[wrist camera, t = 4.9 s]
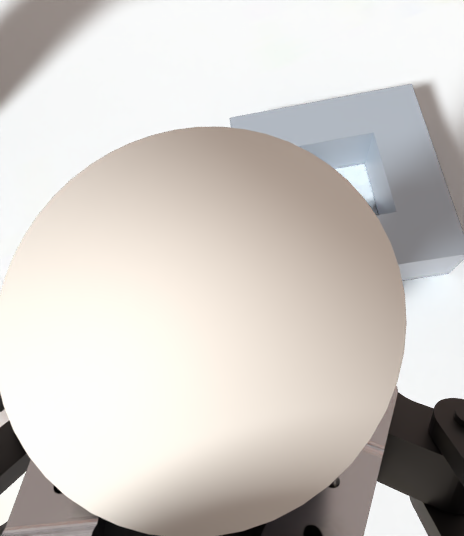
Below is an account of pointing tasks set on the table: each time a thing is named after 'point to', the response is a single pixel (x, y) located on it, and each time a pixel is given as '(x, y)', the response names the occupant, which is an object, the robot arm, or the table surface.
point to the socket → (381, 168)
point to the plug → (200, 332)
